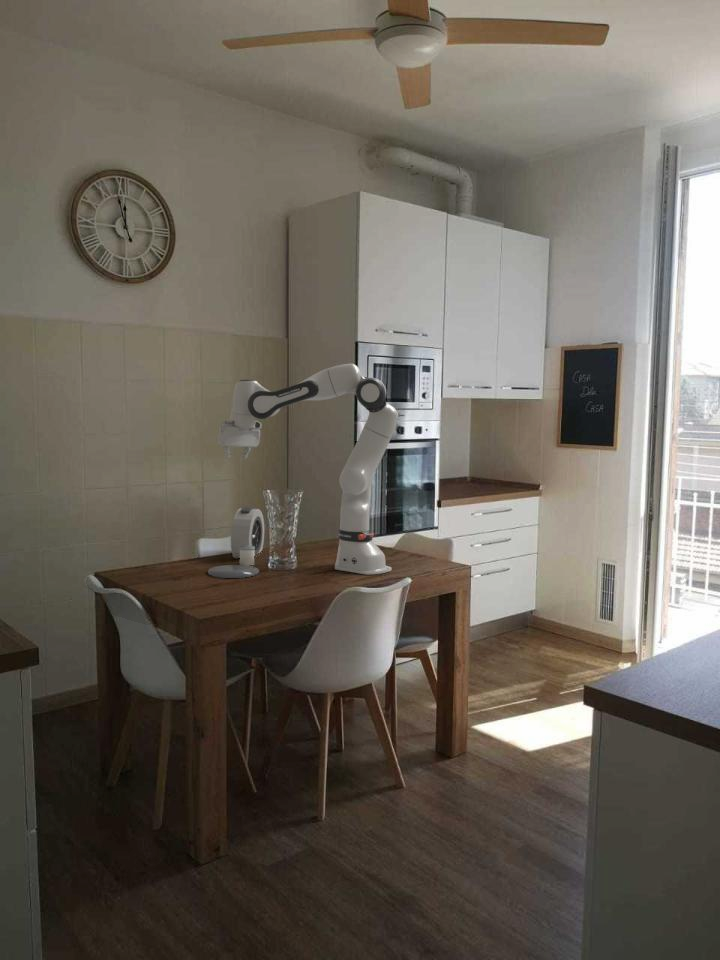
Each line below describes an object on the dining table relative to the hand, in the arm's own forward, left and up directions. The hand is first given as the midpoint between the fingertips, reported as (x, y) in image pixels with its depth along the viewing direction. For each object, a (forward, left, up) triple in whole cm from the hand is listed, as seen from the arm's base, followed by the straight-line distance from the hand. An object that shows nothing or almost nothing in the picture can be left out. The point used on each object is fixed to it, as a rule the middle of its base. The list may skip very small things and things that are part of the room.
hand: (235, 457), depth 290 cm
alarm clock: (+7, -11, -40) cm, 42 cm away
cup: (-7, 0, -40) cm, 41 cm away
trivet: (-15, +12, -40) cm, 44 cm away
